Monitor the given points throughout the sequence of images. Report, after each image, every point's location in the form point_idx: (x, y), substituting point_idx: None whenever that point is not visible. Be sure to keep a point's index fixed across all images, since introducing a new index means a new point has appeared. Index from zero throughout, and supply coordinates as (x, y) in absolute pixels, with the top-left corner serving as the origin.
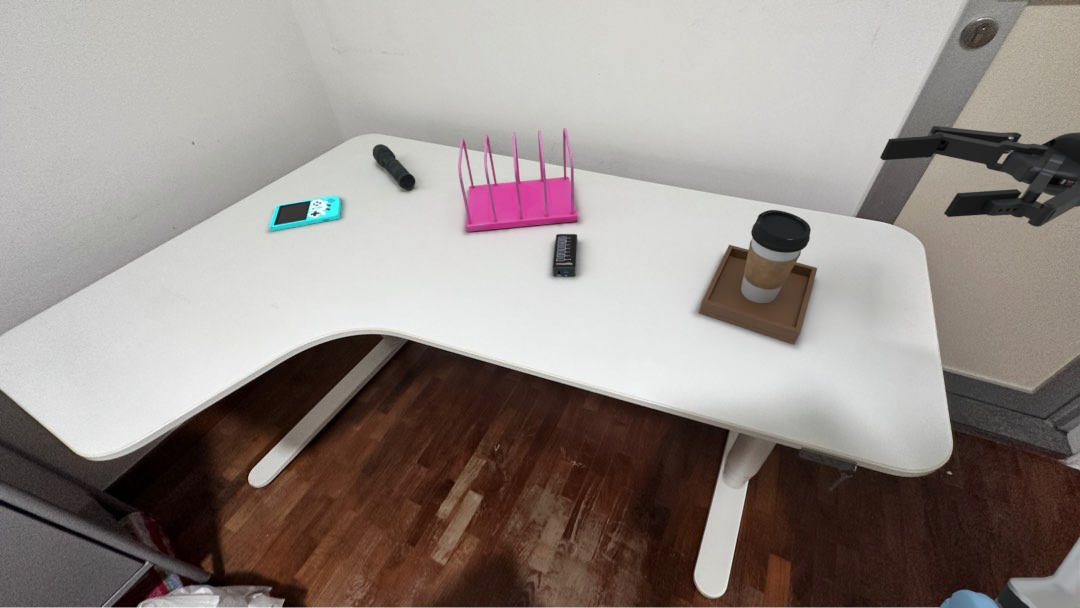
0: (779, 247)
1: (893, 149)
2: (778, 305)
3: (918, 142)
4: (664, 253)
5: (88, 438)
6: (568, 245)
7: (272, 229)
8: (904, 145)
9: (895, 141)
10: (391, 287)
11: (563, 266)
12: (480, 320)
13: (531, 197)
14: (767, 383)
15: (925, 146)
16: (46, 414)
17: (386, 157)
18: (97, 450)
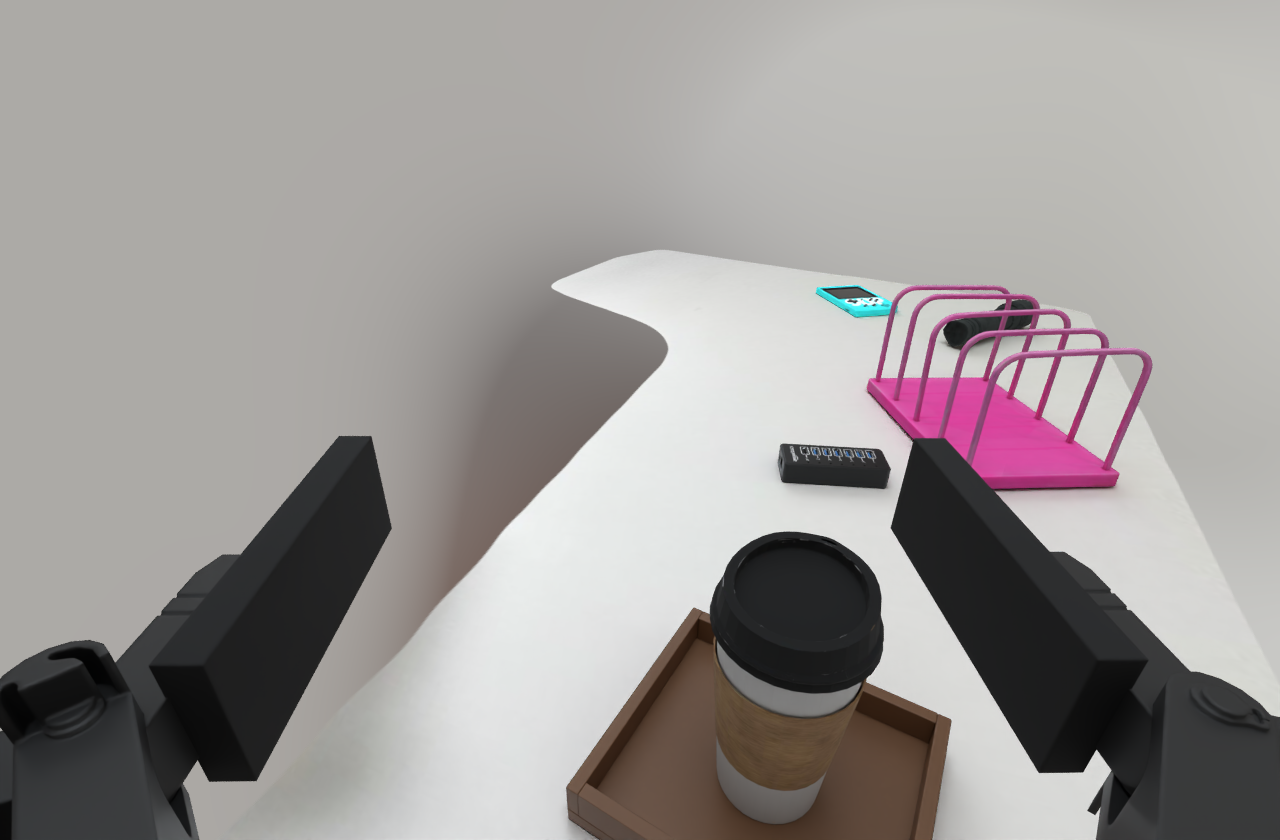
0: (717, 587)
1: (917, 497)
2: (710, 812)
3: (985, 549)
4: (901, 612)
5: (563, 281)
6: (849, 459)
7: (816, 291)
8: (944, 511)
9: (923, 450)
10: (732, 353)
11: (786, 452)
12: (674, 405)
13: (993, 429)
14: (469, 712)
15: (1009, 623)
16: (588, 269)
17: (999, 309)
18: (552, 284)
